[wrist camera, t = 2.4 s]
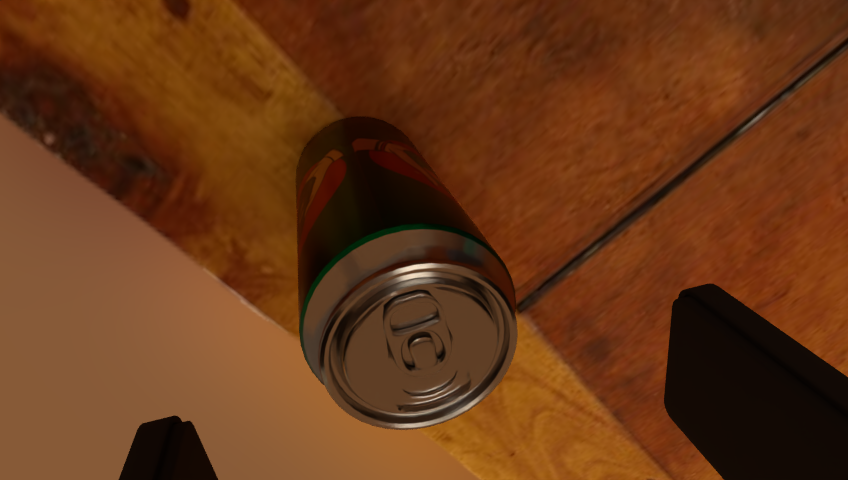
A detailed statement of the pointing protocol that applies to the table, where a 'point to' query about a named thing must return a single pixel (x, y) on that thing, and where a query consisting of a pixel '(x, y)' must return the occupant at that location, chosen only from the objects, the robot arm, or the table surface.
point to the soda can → (395, 282)
